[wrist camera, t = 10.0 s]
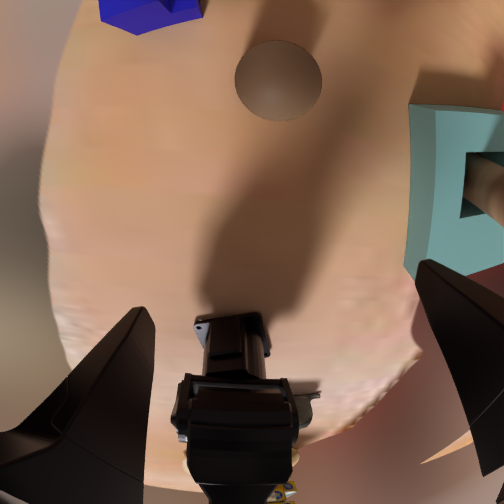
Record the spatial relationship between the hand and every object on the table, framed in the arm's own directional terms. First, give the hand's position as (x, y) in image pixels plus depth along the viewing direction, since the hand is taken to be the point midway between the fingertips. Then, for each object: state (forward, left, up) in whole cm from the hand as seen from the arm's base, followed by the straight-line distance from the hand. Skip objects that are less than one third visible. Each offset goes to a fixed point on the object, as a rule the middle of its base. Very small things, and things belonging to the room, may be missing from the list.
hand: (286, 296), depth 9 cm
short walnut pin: (+6, -2, -13) cm, 15 cm away
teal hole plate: (-4, -19, -13) cm, 24 cm away
